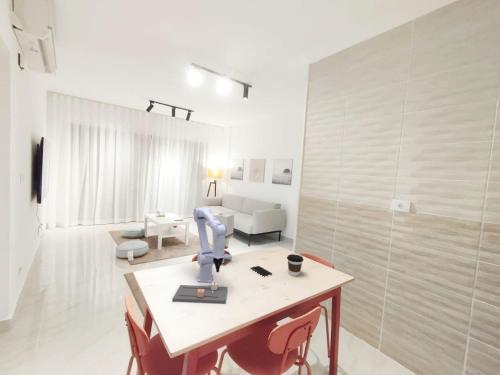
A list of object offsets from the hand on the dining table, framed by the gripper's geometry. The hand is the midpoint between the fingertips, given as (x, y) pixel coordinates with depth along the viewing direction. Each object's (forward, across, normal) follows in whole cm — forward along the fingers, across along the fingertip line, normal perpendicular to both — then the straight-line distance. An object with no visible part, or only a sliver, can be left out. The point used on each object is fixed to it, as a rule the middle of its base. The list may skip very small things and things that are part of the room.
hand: (217, 271), depth 125 cm
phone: (+11, +27, +28) cm, 40 cm away
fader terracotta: (+9, -7, -10) cm, 15 cm away
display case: (+10, -1, +42) cm, 43 cm away
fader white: (+9, -1, -2) cm, 9 cm away
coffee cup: (+11, +49, +26) cm, 56 cm away
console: (+10, -7, -6) cm, 14 cm away
